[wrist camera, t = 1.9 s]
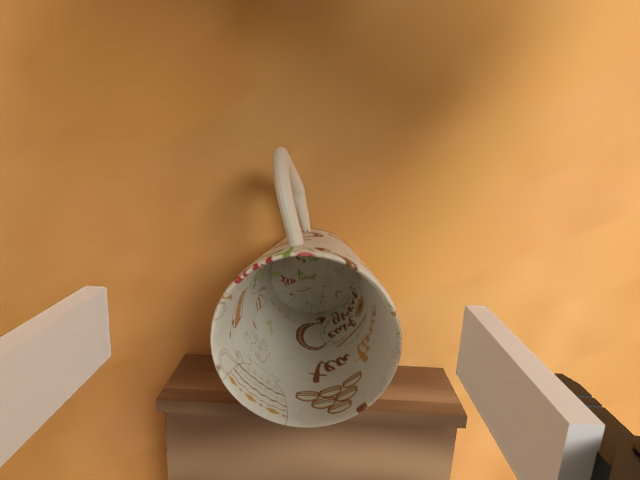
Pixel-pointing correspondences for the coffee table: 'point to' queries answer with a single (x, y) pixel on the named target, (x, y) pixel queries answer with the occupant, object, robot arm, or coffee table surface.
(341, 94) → the coffee table surface
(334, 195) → the coffee table surface
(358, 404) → the mug
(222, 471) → the cleat board
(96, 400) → the coffee table surface
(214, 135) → the coffee table surface
